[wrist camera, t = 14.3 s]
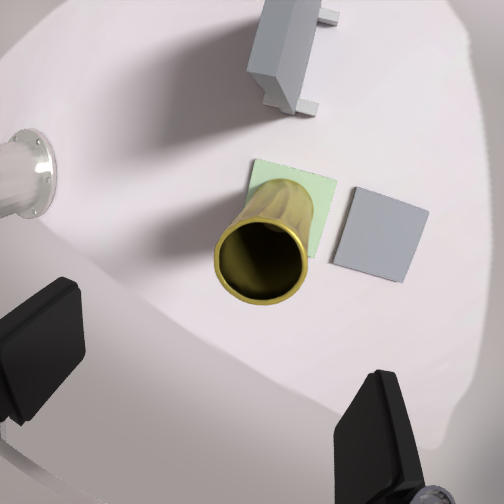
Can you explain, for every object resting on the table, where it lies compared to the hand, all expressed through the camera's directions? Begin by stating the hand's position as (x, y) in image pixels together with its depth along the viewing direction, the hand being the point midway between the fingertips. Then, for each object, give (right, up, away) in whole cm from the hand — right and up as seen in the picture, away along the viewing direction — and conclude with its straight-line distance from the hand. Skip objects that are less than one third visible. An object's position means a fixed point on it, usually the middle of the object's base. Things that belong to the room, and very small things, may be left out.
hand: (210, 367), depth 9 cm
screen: (+6, +22, +17) cm, 28 cm away
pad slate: (+14, +5, +21) cm, 26 cm away
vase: (+4, +8, +22) cm, 23 cm away
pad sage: (+5, +8, +22) cm, 24 cm away
